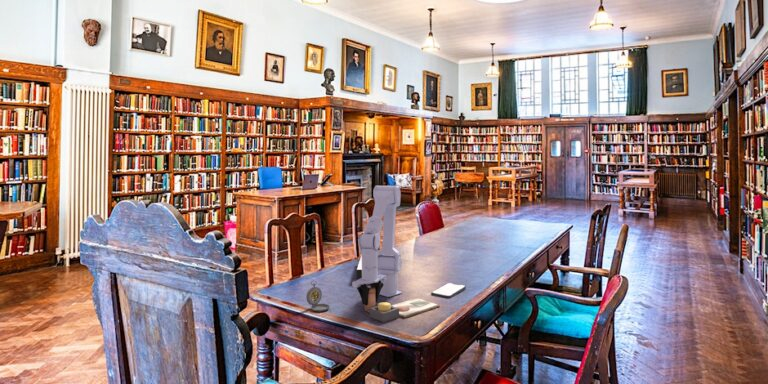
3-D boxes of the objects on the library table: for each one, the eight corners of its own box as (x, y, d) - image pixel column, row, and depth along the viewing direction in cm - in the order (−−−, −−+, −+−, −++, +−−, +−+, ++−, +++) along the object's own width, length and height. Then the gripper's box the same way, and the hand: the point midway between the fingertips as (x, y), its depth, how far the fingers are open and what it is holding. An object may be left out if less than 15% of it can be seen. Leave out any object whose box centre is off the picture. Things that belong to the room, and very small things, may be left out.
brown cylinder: (362, 309, 163) (362, 288, 162) (370, 307, 166) (370, 286, 165) (369, 312, 160) (369, 290, 159) (377, 309, 163) (377, 288, 162)
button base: (369, 316, 156) (369, 308, 155) (385, 311, 160) (385, 303, 160) (383, 322, 150) (383, 313, 150) (399, 317, 155) (399, 308, 155)
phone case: (449, 300, 175) (467, 289, 188) (449, 296, 175) (467, 285, 188) (429, 296, 180) (448, 286, 193) (429, 292, 180) (448, 282, 193)
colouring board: (381, 309, 162) (381, 307, 162) (416, 299, 174) (416, 297, 174) (404, 318, 153) (404, 316, 153) (439, 306, 165) (439, 304, 165)
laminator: (381, 283, 198) (381, 269, 198) (354, 283, 198) (353, 269, 198) (383, 265, 232) (383, 253, 232) (359, 265, 232) (359, 253, 232)
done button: (375, 312, 155) (375, 304, 155) (384, 309, 158) (384, 301, 158) (383, 315, 152) (383, 307, 152) (393, 312, 155) (393, 304, 155)
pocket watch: (326, 312, 160) (325, 285, 159) (303, 311, 161) (303, 284, 161) (332, 305, 168) (332, 279, 167) (311, 304, 169) (310, 278, 169)
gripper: (360, 272, 154) (361, 310, 155) (391, 265, 163) (392, 301, 164) (348, 268, 159) (348, 305, 160) (379, 261, 169) (379, 297, 170)
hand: (370, 303), depth 163 cm, fingers closed on brown cylinder, 4 cm apart
